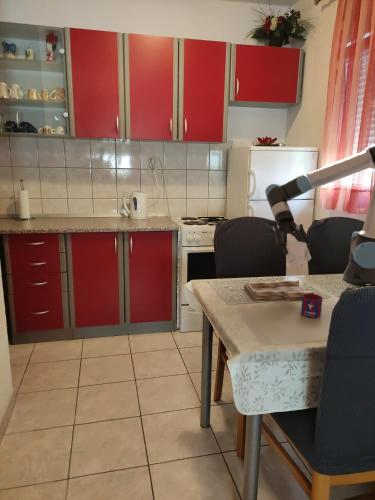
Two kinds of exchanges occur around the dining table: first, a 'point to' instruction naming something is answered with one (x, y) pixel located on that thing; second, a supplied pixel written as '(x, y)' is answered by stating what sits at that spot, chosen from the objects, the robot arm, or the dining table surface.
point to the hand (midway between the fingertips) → (300, 260)
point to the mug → (311, 305)
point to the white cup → (296, 254)
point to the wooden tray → (276, 290)
